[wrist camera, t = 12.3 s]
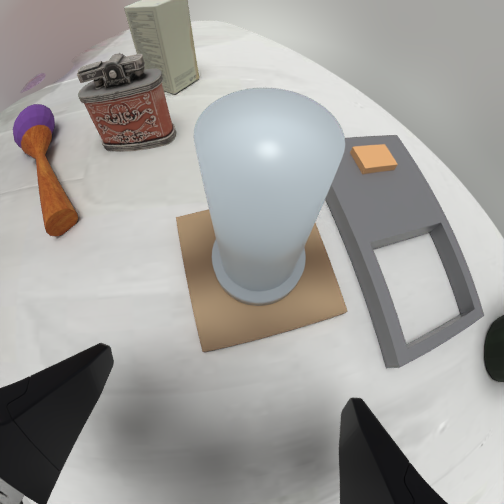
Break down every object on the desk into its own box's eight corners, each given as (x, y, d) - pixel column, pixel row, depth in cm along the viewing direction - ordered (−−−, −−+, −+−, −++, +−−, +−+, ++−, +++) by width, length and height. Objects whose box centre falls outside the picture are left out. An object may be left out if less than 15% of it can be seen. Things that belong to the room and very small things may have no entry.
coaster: (343, 313, 19) (347, 311, 18) (204, 352, 18) (202, 351, 17) (300, 195, 22) (301, 190, 22) (178, 222, 21) (176, 217, 20)
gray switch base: (469, 320, 18) (490, 313, 16) (386, 367, 17) (405, 367, 15) (389, 147, 25) (399, 129, 23) (305, 156, 24) (310, 135, 21)
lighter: (178, 124, 26) (161, 41, 16) (172, 147, 24) (148, 59, 15) (110, 132, 25) (78, 60, 16) (100, 154, 24) (61, 81, 15)
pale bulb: (318, 275, 19) (397, 159, 8) (244, 323, 18) (237, 249, 6) (269, 210, 21) (287, 68, 10) (199, 250, 19) (150, 116, 8)
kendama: (19, 236, 16) (4, 122, 21) (62, 252, 22) (29, 142, 26) (63, 186, 17) (35, 88, 21) (102, 211, 23) (58, 112, 27)
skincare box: (200, 79, 29) (191, -6, 18) (173, 96, 28) (155, 6, 16) (168, 69, 30) (154, -7, 19) (143, 84, 29) (122, 6, 18)
